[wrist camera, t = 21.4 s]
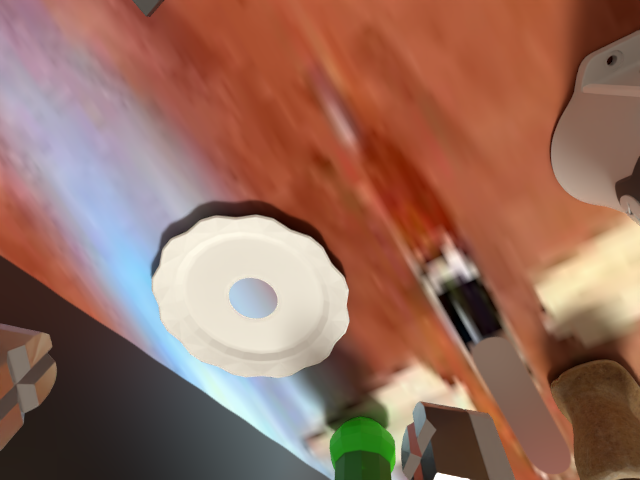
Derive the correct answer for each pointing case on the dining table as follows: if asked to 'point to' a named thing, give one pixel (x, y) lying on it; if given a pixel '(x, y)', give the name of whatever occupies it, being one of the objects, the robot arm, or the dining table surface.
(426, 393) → the dining table surface
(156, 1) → the collar holder
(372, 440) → the plastic bottle
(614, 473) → the stone cup
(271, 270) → the plate
